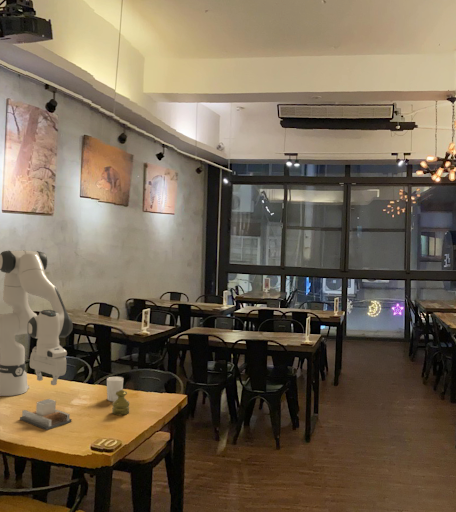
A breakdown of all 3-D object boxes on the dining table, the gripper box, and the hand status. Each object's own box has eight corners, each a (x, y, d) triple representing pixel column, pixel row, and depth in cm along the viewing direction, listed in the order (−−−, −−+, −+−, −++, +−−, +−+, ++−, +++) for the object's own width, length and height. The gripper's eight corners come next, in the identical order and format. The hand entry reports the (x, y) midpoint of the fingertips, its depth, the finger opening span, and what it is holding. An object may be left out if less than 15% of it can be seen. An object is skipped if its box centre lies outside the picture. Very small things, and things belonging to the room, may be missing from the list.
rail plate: (19, 419, 202) (20, 411, 202) (45, 412, 212) (45, 404, 212) (46, 430, 192) (46, 421, 192) (71, 421, 202) (71, 413, 202)
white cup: (103, 398, 234) (103, 378, 234) (117, 395, 239) (118, 375, 239) (110, 403, 228) (111, 381, 228) (125, 400, 233) (126, 379, 233)
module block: (36, 418, 201) (36, 401, 201) (48, 415, 206) (49, 398, 206) (42, 421, 198) (43, 404, 198) (55, 417, 203) (55, 400, 203)
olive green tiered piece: (118, 408, 220) (119, 387, 220) (132, 411, 217) (133, 389, 217) (108, 413, 213) (109, 391, 213) (123, 416, 210) (123, 393, 210)
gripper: (26, 346, 205) (25, 379, 205) (56, 354, 193) (55, 389, 193) (39, 344, 210) (38, 376, 210) (69, 352, 198) (68, 385, 199)
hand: (46, 382), depth 202 cm, fingers open, 8 cm apart
